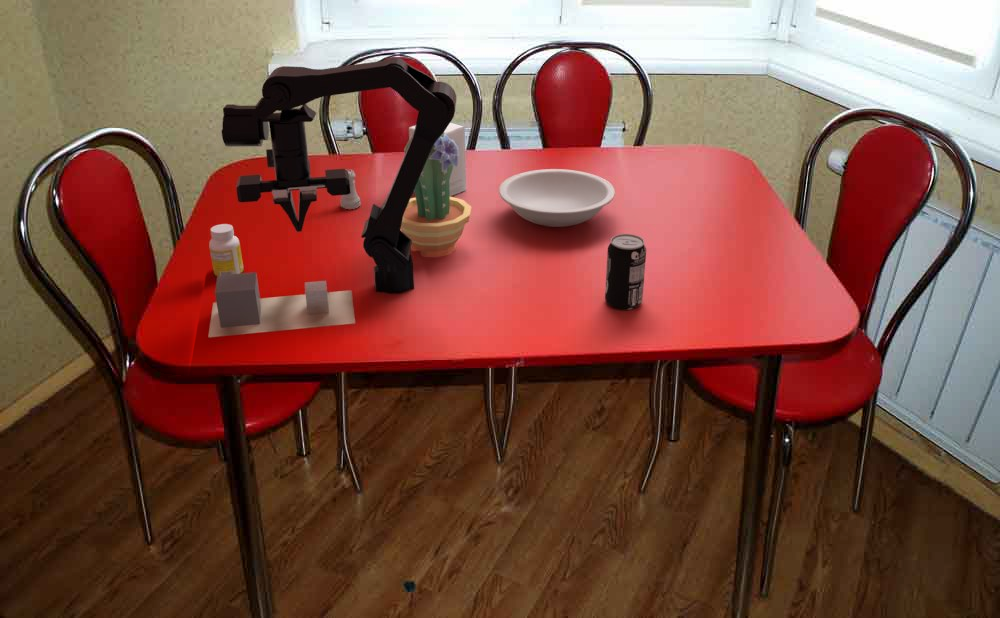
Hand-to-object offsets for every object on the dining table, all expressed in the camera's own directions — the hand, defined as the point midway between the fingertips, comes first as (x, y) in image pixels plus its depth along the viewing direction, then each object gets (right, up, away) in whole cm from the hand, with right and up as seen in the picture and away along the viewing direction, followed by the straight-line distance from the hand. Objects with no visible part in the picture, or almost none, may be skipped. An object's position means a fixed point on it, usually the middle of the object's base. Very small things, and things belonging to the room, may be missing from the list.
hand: (299, 230), depth 168 cm
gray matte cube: (-9, -15, -4) cm, 18 cm away
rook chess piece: (+3, +8, +40) cm, 41 cm away
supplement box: (+21, +13, +48) cm, 54 cm away
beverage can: (+57, -13, +2) cm, 58 cm away
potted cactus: (+22, -2, +22) cm, 31 cm away
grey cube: (+4, -15, -2) cm, 15 cm away
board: (-2, -15, -3) cm, 16 cm away
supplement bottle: (-15, -8, +11) cm, 21 cm away
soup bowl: (+47, +5, +34) cm, 58 cm away
